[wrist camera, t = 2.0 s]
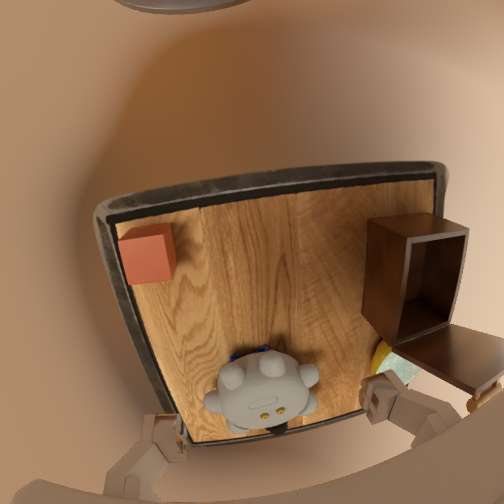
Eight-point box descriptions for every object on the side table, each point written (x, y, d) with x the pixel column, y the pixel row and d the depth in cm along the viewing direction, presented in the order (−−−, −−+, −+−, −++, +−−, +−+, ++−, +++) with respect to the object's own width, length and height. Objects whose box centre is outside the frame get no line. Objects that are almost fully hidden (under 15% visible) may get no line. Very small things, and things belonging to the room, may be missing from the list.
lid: (475, 389, 16) (463, 436, 16) (531, 345, 17) (522, 388, 17) (391, 346, 31) (390, 383, 31) (451, 323, 32) (449, 357, 32)
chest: (367, 218, 35) (406, 237, 26) (429, 212, 36) (469, 228, 28) (360, 313, 40) (389, 347, 31) (418, 298, 41) (449, 324, 33)
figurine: (184, 354, 37) (228, 419, 46) (184, 402, 30) (234, 456, 39) (303, 318, 38) (317, 393, 47) (325, 362, 30) (332, 428, 39)
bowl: (410, 307, 41) (431, 325, 35) (412, 351, 45) (429, 370, 39) (354, 338, 41) (371, 362, 35) (362, 379, 45) (376, 402, 39)
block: (130, 228, 31) (117, 241, 26) (170, 222, 31) (163, 234, 27) (138, 267, 33) (128, 285, 28) (177, 262, 33) (172, 280, 28)
